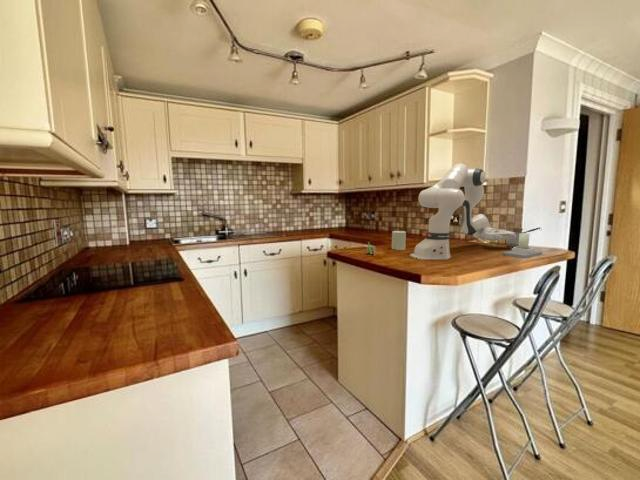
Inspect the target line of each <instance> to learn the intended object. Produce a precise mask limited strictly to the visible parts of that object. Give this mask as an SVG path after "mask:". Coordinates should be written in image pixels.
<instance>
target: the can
mask: <svg viewBox="0 0 640 480" xmlns="http://www.w3.org/2000/svg"><path fill="white" fill-rule="evenodd" d="M406 236H407V232H406V231H403V230H393V231H391V250H394V249H395V250H396V251H405V250H406V241H407V240H406V239H407V237H406Z"/></svg>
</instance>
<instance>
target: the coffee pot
mask: <svg viewBox="0 0 640 480" xmlns="http://www.w3.org/2000/svg"><path fill="white" fill-rule="evenodd" d="M537 230H539V231H543V230H542V228H541V227H536V228H533V229H529V230H526V231H524V229H523V228H521V227H520V228H519V227H512V232H514V233H515V235H516V238H508V239H507V241H506V245H507V246H508V247H509V246H510V247H509V248H512V247H518V243H519V233H527V234H528V233H530V232H534V231H537ZM523 231H524V232H523Z"/></svg>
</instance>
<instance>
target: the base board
mask: <svg viewBox="0 0 640 480" xmlns="http://www.w3.org/2000/svg"><path fill="white" fill-rule="evenodd" d="M540 254H541V255H543V251H539V250H535V247H528V249H521V248H518V247H513V248H512V247H511V250H509V251H503V252H502V256H507V257H513V258H515V257H516V258H520V259H527V258H532V257H537V256H539V255H540Z"/></svg>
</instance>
